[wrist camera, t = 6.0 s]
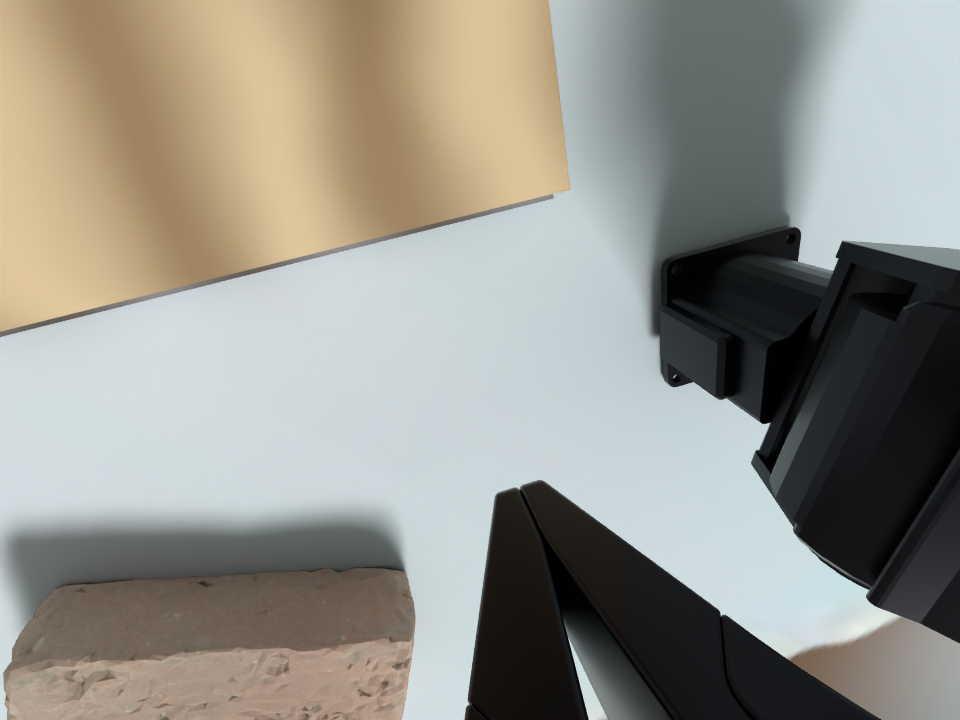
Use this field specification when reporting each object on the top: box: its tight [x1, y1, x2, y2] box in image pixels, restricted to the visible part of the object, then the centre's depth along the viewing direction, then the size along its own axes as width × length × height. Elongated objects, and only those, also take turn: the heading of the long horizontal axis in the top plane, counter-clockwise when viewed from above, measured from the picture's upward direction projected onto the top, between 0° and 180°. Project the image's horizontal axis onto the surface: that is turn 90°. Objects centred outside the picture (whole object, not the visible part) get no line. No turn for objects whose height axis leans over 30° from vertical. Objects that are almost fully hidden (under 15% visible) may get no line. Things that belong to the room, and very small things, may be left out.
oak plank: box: [0, 0, 570, 332], centre depth 12 cm, size 22×10×2 cm, turn 102°
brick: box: [3, 568, 415, 720], centre depth 22 cm, size 16×8×5 cm, turn 80°
